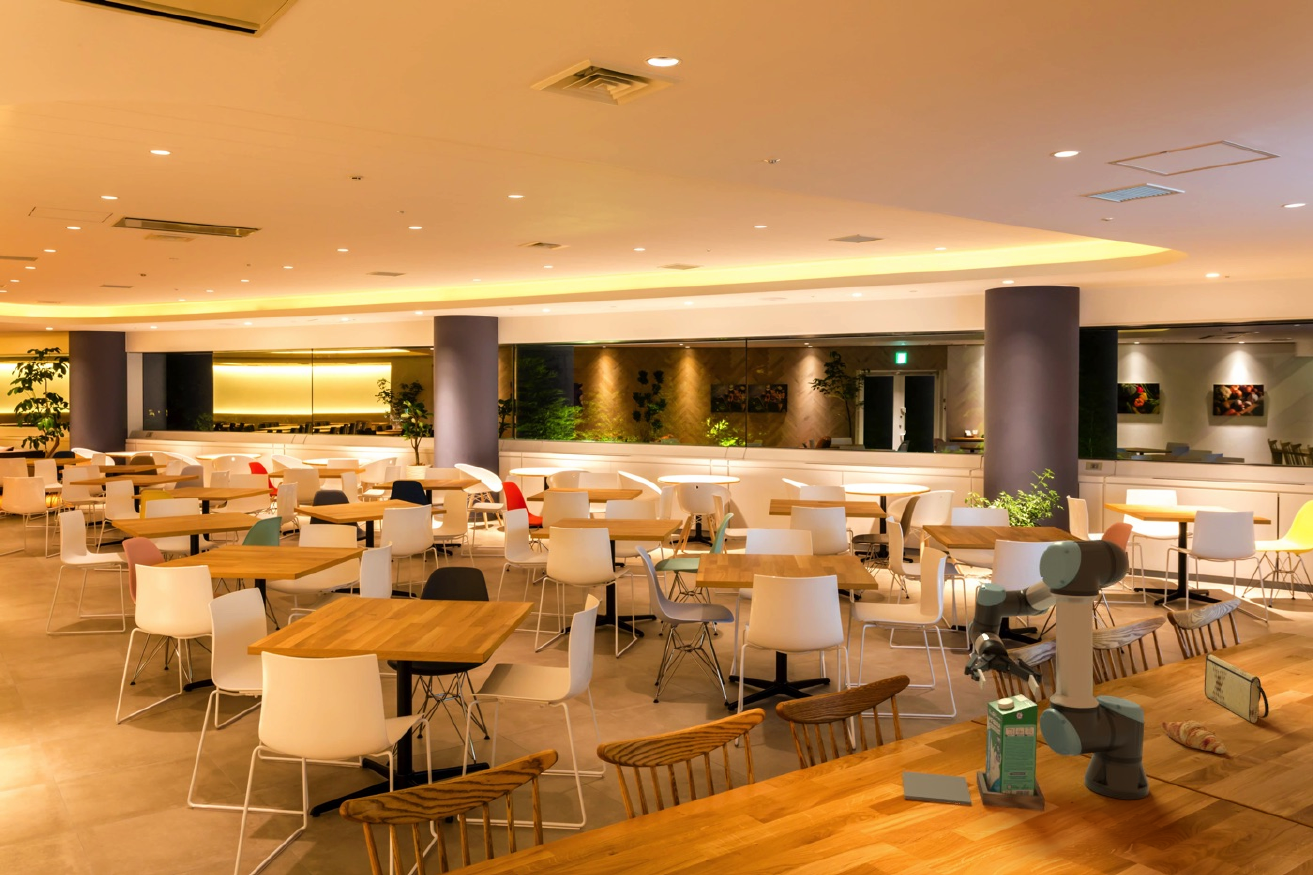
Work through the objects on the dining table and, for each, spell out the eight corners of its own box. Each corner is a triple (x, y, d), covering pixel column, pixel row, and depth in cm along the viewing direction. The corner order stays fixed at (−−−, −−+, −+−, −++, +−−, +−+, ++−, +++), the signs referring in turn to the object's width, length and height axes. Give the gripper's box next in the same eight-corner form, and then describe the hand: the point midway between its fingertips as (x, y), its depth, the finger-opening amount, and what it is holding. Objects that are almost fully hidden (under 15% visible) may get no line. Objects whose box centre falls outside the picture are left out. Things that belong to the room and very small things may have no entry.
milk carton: (984, 789, 255) (987, 693, 253) (1018, 788, 255) (1021, 693, 254) (999, 804, 246) (1003, 705, 244) (1034, 803, 246) (1038, 704, 245)
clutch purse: (1274, 726, 306) (1277, 678, 305) (1252, 725, 306) (1254, 678, 305) (1220, 695, 335) (1222, 652, 335) (1200, 695, 336) (1202, 651, 335)
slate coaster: (965, 779, 260) (965, 776, 260) (971, 805, 245) (971, 801, 245) (902, 774, 264) (902, 771, 264) (904, 798, 248) (905, 795, 248)
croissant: (1231, 767, 281) (1242, 741, 282) (1210, 755, 277) (1221, 729, 278) (1168, 740, 301) (1178, 716, 301) (1147, 728, 297) (1158, 704, 298)
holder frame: (1034, 787, 256) (1034, 776, 256) (1044, 810, 242) (1044, 798, 242) (976, 782, 259) (976, 770, 259) (982, 804, 245) (983, 793, 245)
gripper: (1034, 668, 279) (1056, 707, 258) (944, 658, 281) (959, 695, 260) (1039, 644, 277) (1061, 681, 256) (948, 634, 279) (963, 670, 258)
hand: (1010, 688), depth 258 cm, fingers open, 13 cm apart
